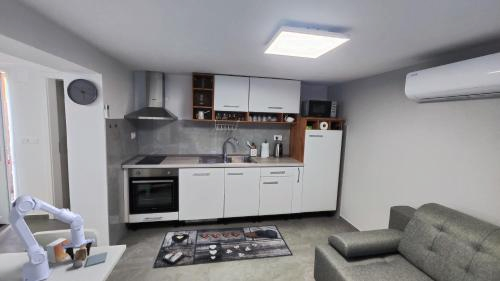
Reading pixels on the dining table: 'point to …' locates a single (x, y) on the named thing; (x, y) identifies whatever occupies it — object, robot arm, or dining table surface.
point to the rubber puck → (77, 264)
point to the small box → (56, 250)
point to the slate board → (96, 259)
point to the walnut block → (80, 254)
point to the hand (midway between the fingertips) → (80, 257)
